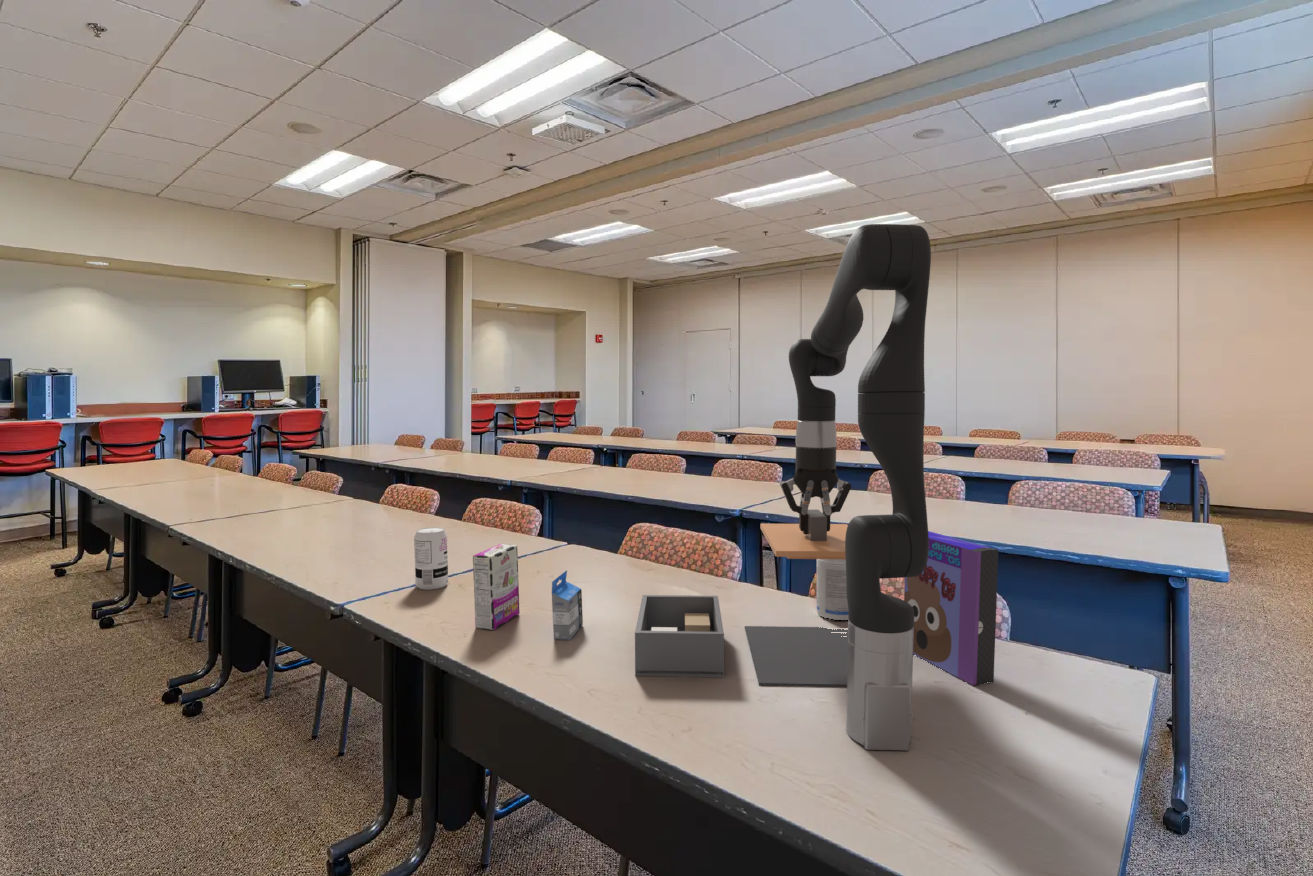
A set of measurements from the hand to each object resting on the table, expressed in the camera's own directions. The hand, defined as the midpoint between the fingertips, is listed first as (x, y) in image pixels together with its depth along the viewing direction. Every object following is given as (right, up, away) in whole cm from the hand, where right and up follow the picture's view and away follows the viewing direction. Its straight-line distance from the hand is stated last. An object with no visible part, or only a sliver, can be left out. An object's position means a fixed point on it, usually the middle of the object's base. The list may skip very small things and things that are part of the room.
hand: (814, 533), depth 127 cm
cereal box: (+24, -25, -3) cm, 34 cm away
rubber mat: (0, -24, +2) cm, 24 cm away
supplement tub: (+11, -23, +24) cm, 35 cm away
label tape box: (-49, -24, +14) cm, 57 cm away
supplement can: (-90, -21, +48) cm, 104 cm away
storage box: (-26, -24, +3) cm, 35 cm away
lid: (0, -2, 0) cm, 2 cm away
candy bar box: (-66, -23, +21) cm, 73 cm away
